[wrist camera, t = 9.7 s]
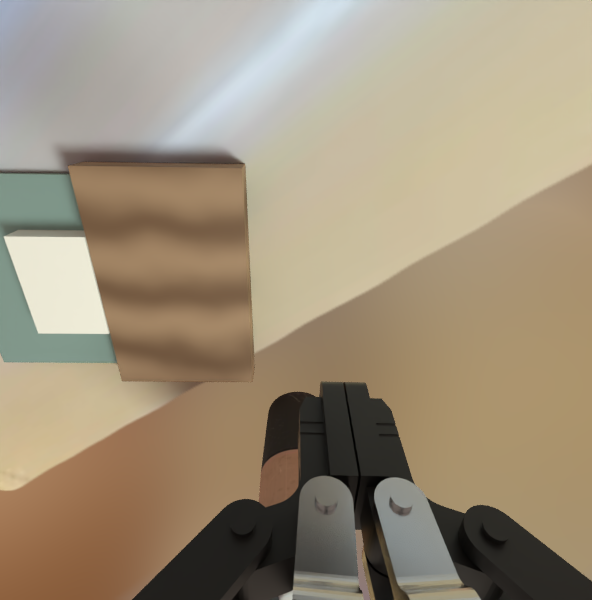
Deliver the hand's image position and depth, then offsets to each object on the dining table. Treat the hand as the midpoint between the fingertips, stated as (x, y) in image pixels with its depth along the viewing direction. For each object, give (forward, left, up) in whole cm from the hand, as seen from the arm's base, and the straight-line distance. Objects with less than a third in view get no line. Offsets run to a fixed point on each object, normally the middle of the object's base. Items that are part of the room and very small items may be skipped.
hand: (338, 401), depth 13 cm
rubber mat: (+7, -27, -25) cm, 37 cm away
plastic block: (+6, -23, -23) cm, 33 cm away
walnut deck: (+7, -13, -25) cm, 28 cm away
